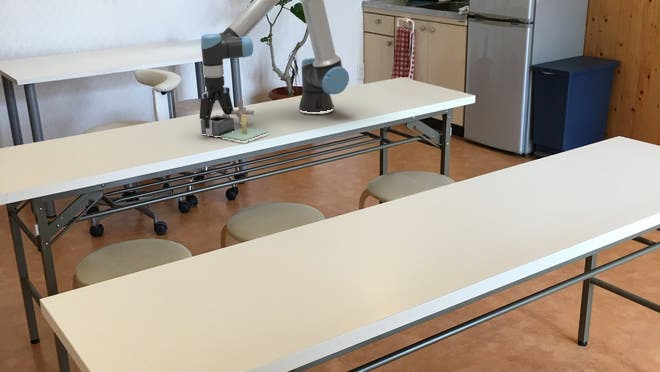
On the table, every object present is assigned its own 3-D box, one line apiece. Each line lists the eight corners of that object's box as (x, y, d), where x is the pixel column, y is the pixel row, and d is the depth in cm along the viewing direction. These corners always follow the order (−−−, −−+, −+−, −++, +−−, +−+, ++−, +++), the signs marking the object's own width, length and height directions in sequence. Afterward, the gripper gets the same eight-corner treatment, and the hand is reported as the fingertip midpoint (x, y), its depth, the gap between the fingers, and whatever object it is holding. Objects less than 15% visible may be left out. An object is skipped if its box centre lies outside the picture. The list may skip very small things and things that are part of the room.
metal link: (217, 129, 281) (216, 115, 279) (234, 132, 276) (233, 118, 274) (201, 135, 274) (200, 120, 272) (218, 138, 269) (217, 123, 267)
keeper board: (245, 130, 279) (243, 108, 276) (268, 135, 272) (267, 112, 269) (220, 139, 268) (219, 116, 265) (244, 143, 261) (243, 120, 258)
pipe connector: (256, 121, 292) (255, 97, 289) (251, 127, 283) (250, 103, 280) (232, 121, 293) (231, 97, 290) (227, 127, 284) (225, 103, 281)
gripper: (226, 70, 278) (230, 125, 285) (186, 79, 261) (191, 138, 269) (240, 72, 273) (244, 128, 281) (200, 81, 257) (205, 141, 265)
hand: (218, 133), depth 275 cm, fingers closed on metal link, 9 cm apart
